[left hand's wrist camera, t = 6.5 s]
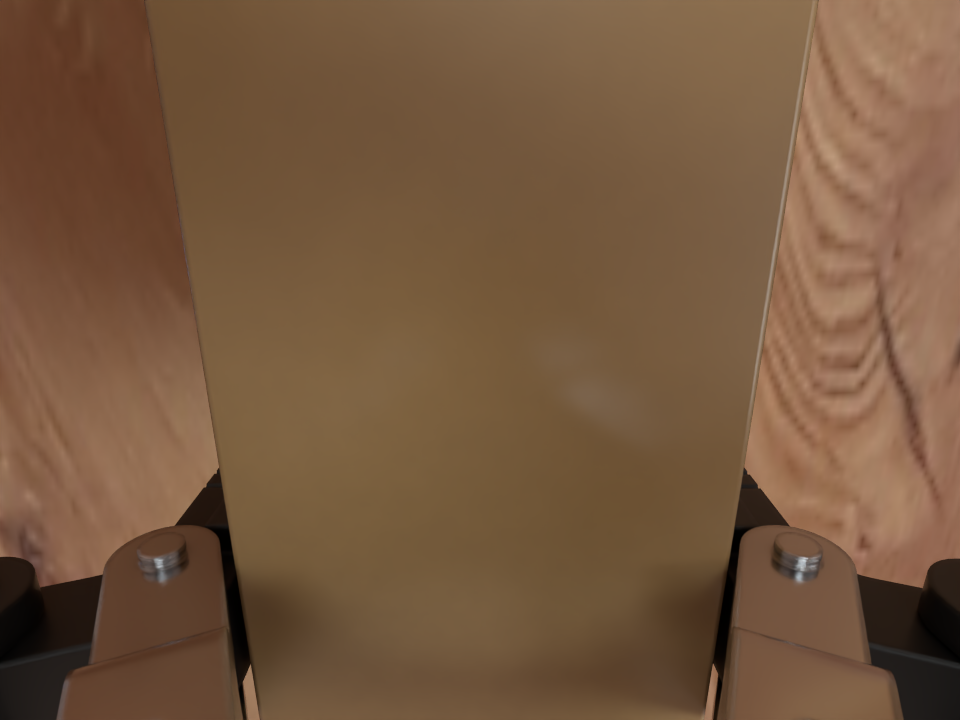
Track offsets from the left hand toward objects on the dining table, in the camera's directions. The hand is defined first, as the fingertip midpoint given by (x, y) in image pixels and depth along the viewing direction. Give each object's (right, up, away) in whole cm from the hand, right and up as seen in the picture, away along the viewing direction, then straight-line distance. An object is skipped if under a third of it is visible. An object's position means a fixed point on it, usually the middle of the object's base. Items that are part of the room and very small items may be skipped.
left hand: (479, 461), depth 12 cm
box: (0, +12, +3) cm, 12 cm away
